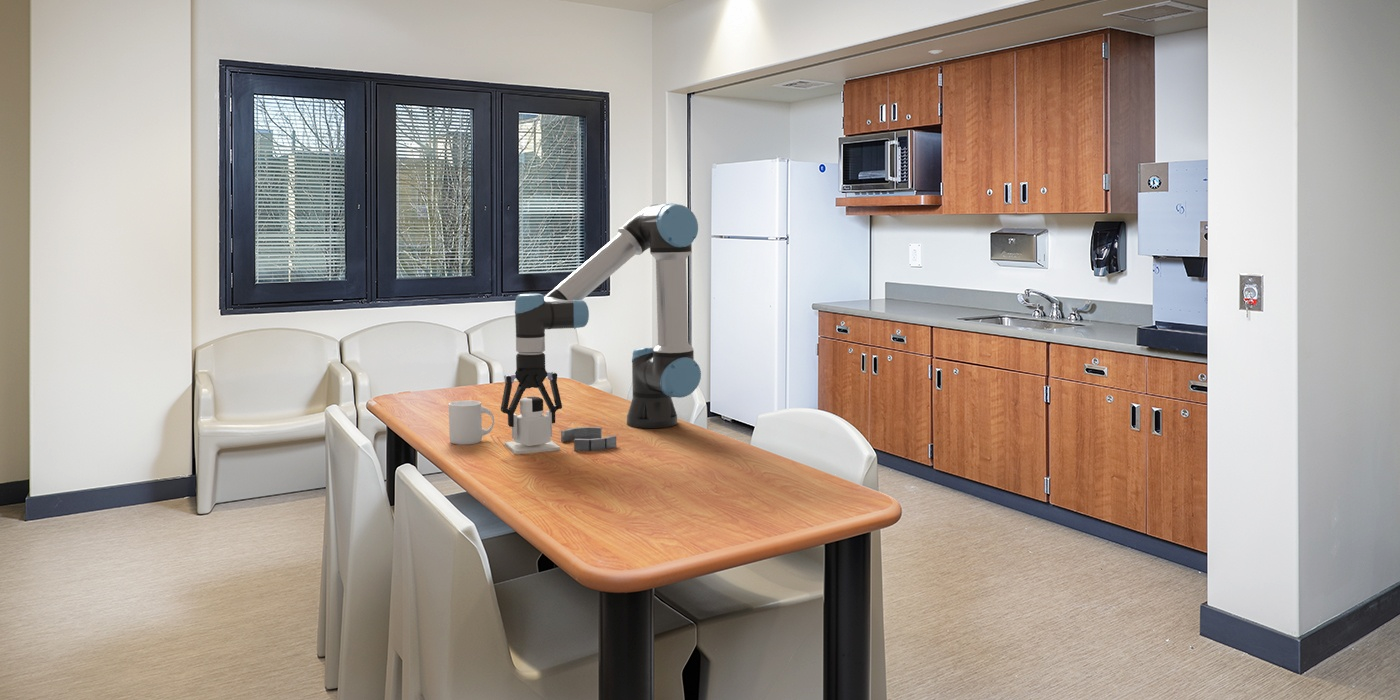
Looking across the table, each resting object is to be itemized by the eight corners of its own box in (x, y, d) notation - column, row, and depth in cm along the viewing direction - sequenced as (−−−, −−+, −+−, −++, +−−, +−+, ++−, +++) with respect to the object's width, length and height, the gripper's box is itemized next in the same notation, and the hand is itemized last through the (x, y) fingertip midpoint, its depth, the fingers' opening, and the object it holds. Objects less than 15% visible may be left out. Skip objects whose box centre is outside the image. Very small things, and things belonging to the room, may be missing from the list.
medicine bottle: (535, 438, 261) (535, 394, 259) (551, 442, 256) (550, 397, 254) (513, 442, 256) (512, 397, 254) (528, 446, 251) (528, 401, 249)
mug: (496, 442, 261) (496, 404, 260) (451, 446, 257) (450, 406, 256) (492, 436, 269) (491, 398, 268) (448, 439, 265) (447, 401, 264)
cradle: (599, 436, 270) (599, 425, 270) (619, 448, 255) (619, 437, 255) (559, 439, 265) (558, 429, 265) (576, 452, 250) (576, 441, 250)
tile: (548, 441, 264) (547, 438, 264) (560, 450, 253) (560, 447, 253) (504, 444, 259) (504, 441, 259) (515, 454, 248) (515, 451, 248)
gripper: (565, 349, 261) (567, 431, 263) (486, 353, 252) (488, 437, 255) (574, 352, 254) (575, 436, 257) (493, 356, 245) (495, 443, 248)
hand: (532, 437), depth 256 cm, fingers closed on medicine bottle, 9 cm apart
